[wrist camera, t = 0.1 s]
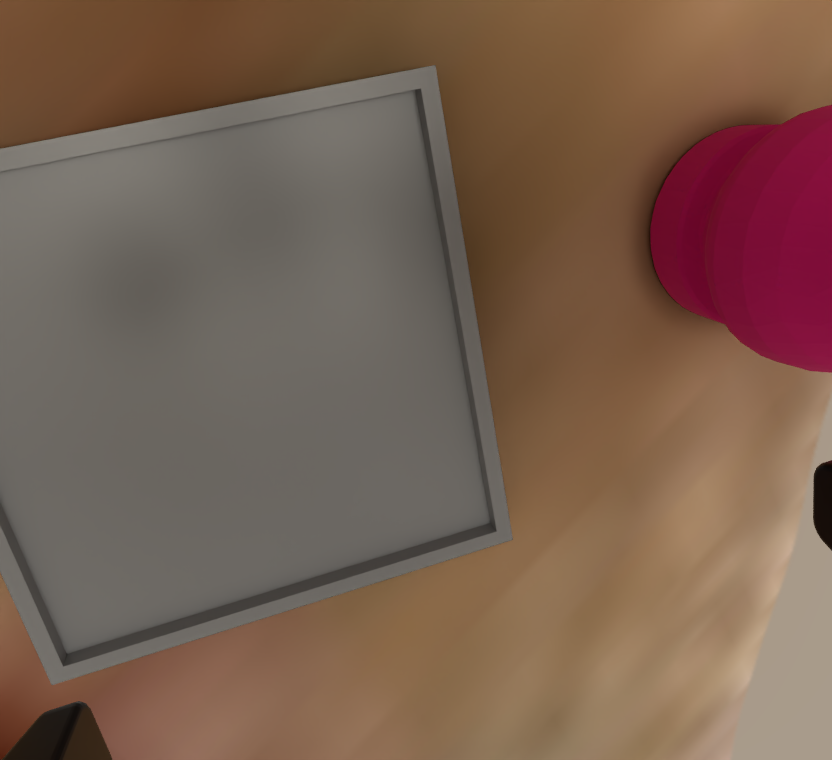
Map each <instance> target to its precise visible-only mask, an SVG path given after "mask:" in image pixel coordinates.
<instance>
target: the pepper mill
mask: <svg viewBox="0 0 832 760" xmlns="http://www.w3.org/2000/svg"><path fill="white" fill-rule="evenodd" d="M650 238H651V253H652V257H653V262H654V267H655V270H656V272H657V275H658V277H659V279H660V282H661V284H662V285H663V286H664V288H665V289H666V291H667V292H668V293H669V295H670V296H671V297H672V298H673V299H674V300H675V301H676V302H677V303H679V304H680V305H681V306H682V307H683V308H685V309H687V310H689V311H691V312H693V313H695V314H698V315H700V316H703V317H706V318H709V319H712V320H715V321H717V322H720V323H723V324H726V326H727V327H728V329H729V330H730V332H731V333H732V334H733V335H734V336H735V337H736V338H737V339H738V340H739V341H740V342H741V343H743V344H744V345H746V346H747V347H749V348H750V349H752V350H753V351H755V352H756V353H758V354H760V355H761V356H764V357H766V358H769V359H771V360H774V361H777V362H780V363H784V364H787V365H791V366H795V367H798V368H802V369H805V370H809V371H818V372H832V105H829V106H825V107H821V108H818V109H815V110H811V111H808V112H805V113H802V114H799V115H797V116H796V117H794V118H792V119H790V120H788V121H787V122H785V123H783V124H781V125H741V126H735V127H730V128H726V129H724V130H721V131H718V132H716V133H714V134H712V135H710V136H708V137H706V138H705V139H703V140H702V141H700V142H699V143H698V144H696V145H695V146H694V147H693V148H691V149H690V150H689V151H688V152H687V153H686V154H685V155H684V156H683V157H682V158H681V159H680V161H679V162H678V163H677V164H676V165H675V167H674V168H673V170H672V171H671V173H670V174H669V175H668V177H667V178H666V180H665V183H664V185H663V187H662V189H661V191H660V193H659V196H658V198H657V200H656V203H655V208H654V212H653V217H652V222H651V227H650Z"/></svg>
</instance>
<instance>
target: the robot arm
mask: <svg viewBox="0 0 832 760" xmlns="http://www.w3.org/2000/svg"><path fill="white" fill-rule="evenodd" d="M813 498H814V499H813V509H814V510H813V520H814V525H815V528H816V530H817V533H818V534H819V536H820V538H821V539H822V540H823V542H824V543H825V544H826V545H827V546H828V547H829V548H830V549H831V550H832V460H831V461H828V462H825V463H822V464H821V465H819V466H818V467H817V468H816V470H815V473H814V497H813ZM2 760H112V757H111V754H110V752H109V750H108V748H107V745H106V743H105V741H104V738H103V736H102V734H101V732H100V729H99V727H98V725H97V723H96V720H95V718H94V716H93V713H92V711H91V709H90V708H89V707H88V706H87V704H86V703H83V702H80V701H78V702H74V703H71V704H68V705H65V706H62V707H59V708H56V709H52V710H49V711H47V712H45V713H43V714H42V715H41V716H40V717H39V718H38V719H37V720H36V721H35V722H34V723H33V724H32V726H31V727H30V728H29V729H28V730H27V731H26V732H25V734H24V735H23V736H22V737H21V738H20V739H19V741H18V742H17V743H16V744H15V745H14V746H13V747H12V749H11V750H10V751H9V752H8V753H7V754H6V755H5V757H4V758H3V759H2Z"/></svg>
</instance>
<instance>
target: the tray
mask: <svg viewBox="0 0 832 760" xmlns="http://www.w3.org/2000/svg"><path fill="white" fill-rule="evenodd" d="M510 540H513V538H512V532H511V525H510V519H509V513H508V507H507V501H506V495H505V489H504V483H503V476H502V470H501V464H500V458H499V452H498V446H497V440H496V434H495V427H494V421H493V415H492V409H491V403H490V397H489V391H488V384H487V378H486V372H485V366H484V360H483V354H482V348H481V342H480V335H479V329H478V323H477V317H476V311H475V305H474V299H473V293H472V286H471V280H470V274H469V268H468V262H467V256H466V250H465V244H464V237H463V231H462V225H461V219H460V213H459V207H458V201H457V195H456V188H455V182H454V176H453V170H452V164H451V158H450V152H449V146H448V139H447V133H446V127H445V121H444V115H443V109H442V103H441V96H440V90H439V84H438V78H437V72H436V66H435V65H433V66H428V67H423V68H418V69H412V70H407V71H402V72H397V73H392V74H386V75H381V76H376V77H371V78H366V79H360V80H355V81H350V82H345V83H340V84H335V85H329V86H324V87H319V88H314V89H309V90H303V91H298V92H293V93H288V94H283V95H277V96H272V97H267V98H262V99H257V100H251V101H246V102H241V103H236V104H231V105H225V106H220V107H215V108H210V109H205V110H199V111H194V112H189V113H184V114H179V115H173V116H168V117H163V118H158V119H153V120H147V121H142V122H137V123H132V124H127V125H122V126H116V127H111V128H106V129H101V130H96V131H90V132H85V133H80V134H75V135H70V136H64V137H59V138H54V139H49V140H44V141H38V142H33V143H28V144H23V145H18V146H12V147H7V148H2V149H0V573H1V575H2V577H3V579H4V581H5V584H6V586H7V588H8V590H9V592H10V595H11V597H12V599H13V601H14V603H15V605H16V608H17V610H18V612H19V614H20V616H21V619H22V621H23V623H24V625H25V627H26V630H27V632H28V634H29V636H30V638H31V641H32V643H33V645H34V647H35V649H36V652H37V654H38V656H39V658H40V660H41V662H42V665H43V667H44V669H45V671H46V673H47V676H48V678H49V680H50V682H51V684H52V685H54V684H57V683H60V682H63V681H67V680H70V679H73V678H76V677H79V676H82V675H86V674H89V673H92V672H95V671H98V670H101V669H105V668H108V667H111V666H114V665H117V664H120V663H124V662H127V661H130V660H133V659H136V658H139V657H143V656H146V655H149V654H152V653H155V652H158V651H162V650H165V649H168V648H171V647H174V646H178V645H181V644H184V643H187V642H190V641H193V640H197V639H200V638H203V637H206V636H209V635H212V634H216V633H219V632H222V631H225V630H228V629H231V628H235V627H238V626H241V625H244V624H247V623H250V622H254V621H257V620H260V619H263V618H266V617H269V616H273V615H276V614H279V613H282V612H285V611H288V610H292V609H295V608H298V607H301V606H304V605H307V604H311V603H314V602H317V601H320V600H323V599H326V598H330V597H333V596H336V595H339V594H342V593H345V592H349V591H352V590H355V589H358V588H361V587H364V586H368V585H371V584H374V583H377V582H380V581H383V580H387V579H390V578H393V577H396V576H399V575H403V574H406V573H409V572H412V571H415V570H418V569H422V568H425V567H428V566H431V565H434V564H437V563H441V562H444V561H447V560H450V559H453V558H456V557H460V556H463V555H466V554H469V553H472V552H475V551H479V550H482V549H485V548H488V547H491V546H494V545H498V544H501V543H504V542H507V541H510Z"/></svg>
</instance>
